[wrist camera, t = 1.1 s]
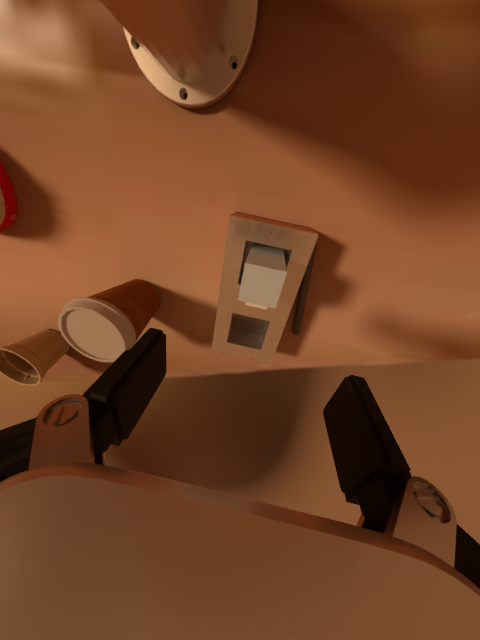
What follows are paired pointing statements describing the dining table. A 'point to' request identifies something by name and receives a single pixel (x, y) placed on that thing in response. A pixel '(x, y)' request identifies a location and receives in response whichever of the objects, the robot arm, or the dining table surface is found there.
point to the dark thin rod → (303, 294)
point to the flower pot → (32, 356)
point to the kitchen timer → (6, 200)
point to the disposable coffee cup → (109, 319)
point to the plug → (263, 276)
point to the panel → (233, 315)
